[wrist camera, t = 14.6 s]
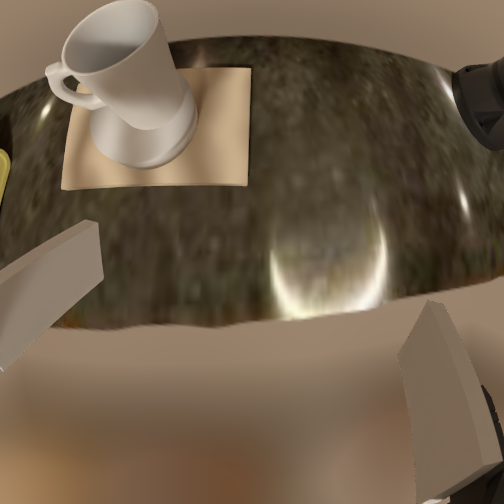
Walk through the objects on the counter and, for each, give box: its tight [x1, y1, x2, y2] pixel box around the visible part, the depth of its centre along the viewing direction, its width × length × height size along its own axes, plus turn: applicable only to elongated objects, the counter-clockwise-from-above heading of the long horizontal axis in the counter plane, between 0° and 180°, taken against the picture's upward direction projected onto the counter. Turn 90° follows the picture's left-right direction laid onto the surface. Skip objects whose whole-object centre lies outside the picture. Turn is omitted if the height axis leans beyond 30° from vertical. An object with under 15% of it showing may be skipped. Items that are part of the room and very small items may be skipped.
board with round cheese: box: [61, 68, 251, 190], centre depth 26 cm, size 22×14×6 cm, turn 89°
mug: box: [45, 0, 183, 130], centre depth 18 cm, size 10×7×12 cm, turn 99°
